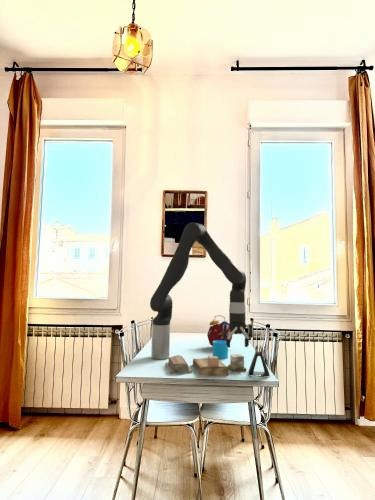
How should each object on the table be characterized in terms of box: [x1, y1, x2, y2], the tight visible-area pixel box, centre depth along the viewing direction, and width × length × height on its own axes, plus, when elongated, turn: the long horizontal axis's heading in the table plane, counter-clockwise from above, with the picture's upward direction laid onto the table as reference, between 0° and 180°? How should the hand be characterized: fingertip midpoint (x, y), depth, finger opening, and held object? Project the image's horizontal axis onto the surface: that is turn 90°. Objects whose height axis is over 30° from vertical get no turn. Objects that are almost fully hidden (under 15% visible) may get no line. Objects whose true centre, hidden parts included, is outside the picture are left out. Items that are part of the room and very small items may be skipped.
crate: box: [207, 355, 220, 367], centre depth 149 cm, size 4×4×4 cm
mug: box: [212, 340, 229, 360], centre depth 183 cm, size 12×8×8 cm
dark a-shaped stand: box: [248, 345, 271, 378], centre depth 149 cm, size 9×6×12 cm, turn 80°
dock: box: [192, 357, 229, 377], centre depth 154 cm, size 12×19×4 cm, turn 10°
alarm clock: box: [206, 314, 233, 347], centre depth 203 cm, size 15×9×20 cm, turn 46°
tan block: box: [227, 353, 247, 373], centre depth 156 cm, size 6×8×6 cm
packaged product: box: [165, 354, 193, 375], centre depth 156 cm, size 18×5×10 cm
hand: (237, 347), depth 157 cm, fingers open, 8 cm apart
